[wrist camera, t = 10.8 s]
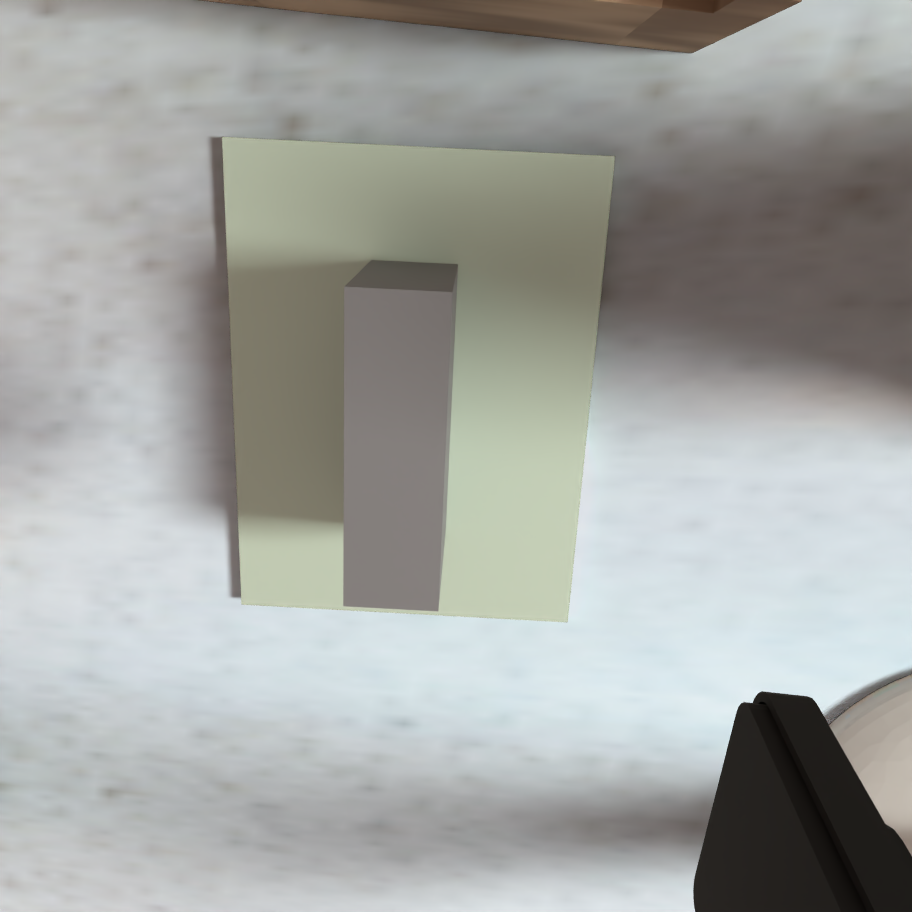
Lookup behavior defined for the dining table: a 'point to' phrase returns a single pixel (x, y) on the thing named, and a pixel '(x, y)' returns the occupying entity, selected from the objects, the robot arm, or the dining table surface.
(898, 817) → the candlestick
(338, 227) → the cover plate
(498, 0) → the walnut box
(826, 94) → the dining table surface
